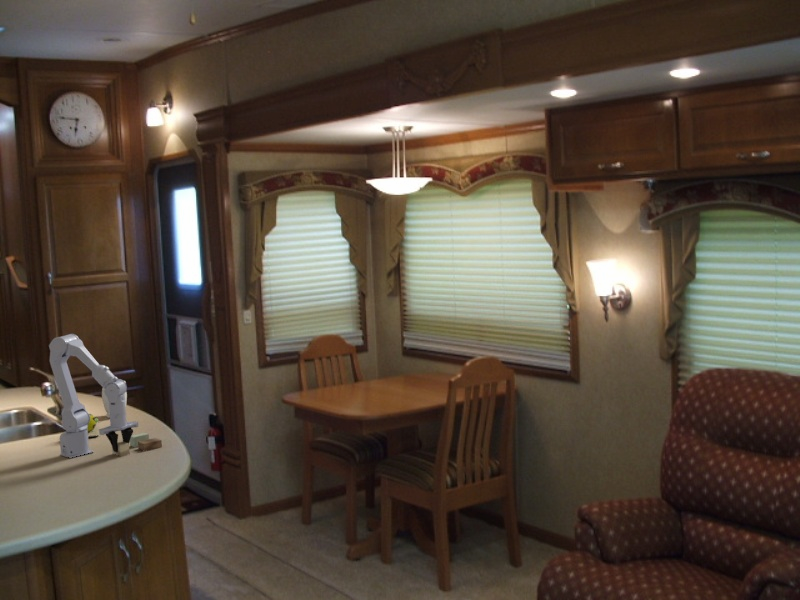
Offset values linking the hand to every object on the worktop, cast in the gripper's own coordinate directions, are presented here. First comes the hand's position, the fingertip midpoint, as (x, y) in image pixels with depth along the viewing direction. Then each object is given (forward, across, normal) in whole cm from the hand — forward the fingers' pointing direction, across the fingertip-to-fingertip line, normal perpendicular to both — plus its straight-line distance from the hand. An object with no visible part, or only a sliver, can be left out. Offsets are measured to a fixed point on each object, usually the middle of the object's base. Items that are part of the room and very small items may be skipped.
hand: (120, 450), depth 330 cm
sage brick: (+2, +11, +6) cm, 13 cm away
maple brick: (+1, 0, 0) cm, 1 cm away
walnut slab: (+2, +11, -2) cm, 11 cm away
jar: (+2, +32, +62) cm, 70 cm away
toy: (+2, +10, +46) cm, 47 cm away
